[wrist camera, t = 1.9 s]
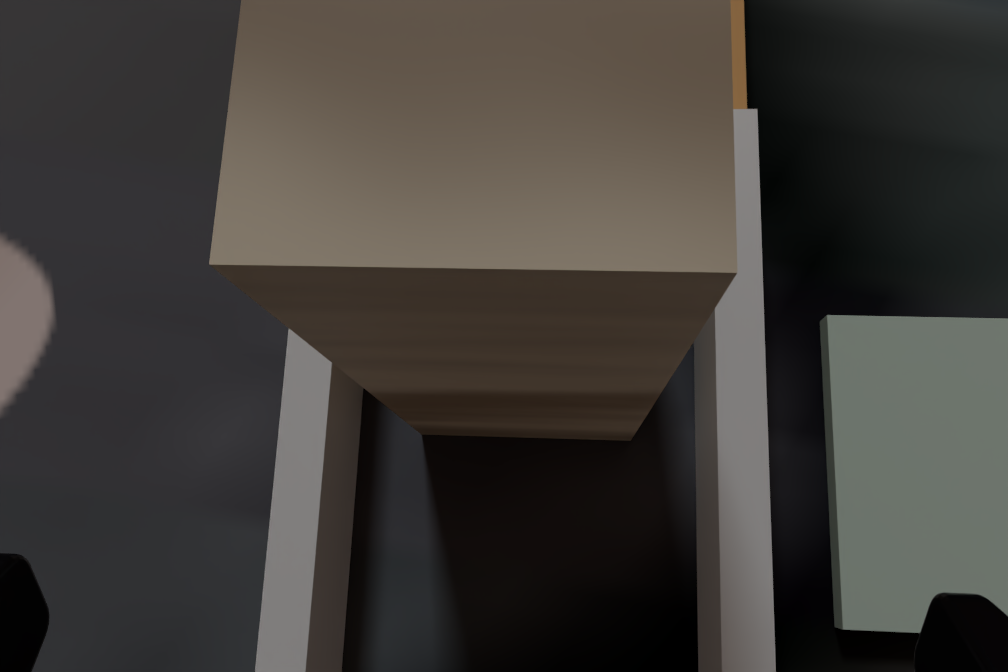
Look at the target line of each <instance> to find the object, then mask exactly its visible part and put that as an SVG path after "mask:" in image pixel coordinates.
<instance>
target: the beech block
mask: <svg viewBox="0 0 1008 672" xmlns="http://www.w3.org/2000/svg"><path fill="white" fill-rule="evenodd" d="M209 265H210V266H212V267H213V268H214V269H215V270H217V271H218V272H219V273H220V274H222V275H223V276H224V277H225V278H227V279H228V280H229V281H230V282H232V283H233V284H234V285H235V286H237V287H238V288H239V289H240V290H242V291H243V292H244V293H245V294H247V295H248V296H249V297H250V298H252V299H253V300H254V301H255V302H257V303H258V304H259V305H260V306H262V307H263V308H264V309H265V310H267V311H268V312H269V313H270V314H272V315H273V316H274V317H275V318H277V319H278V320H279V321H280V322H282V323H283V324H284V325H285V326H287V327H288V328H289V329H290V330H292V331H293V332H294V333H295V334H297V335H298V336H299V337H300V338H302V339H303V340H304V341H305V342H307V343H308V344H309V345H310V346H312V347H313V348H314V349H315V350H317V351H318V352H319V353H320V354H322V355H323V356H324V357H325V358H327V359H328V360H329V361H330V362H332V363H333V364H334V365H335V366H337V367H338V368H339V369H340V370H342V371H343V372H344V373H345V374H347V375H348V376H349V377H350V378H352V379H353V380H354V381H355V382H357V383H358V384H359V385H360V386H362V387H363V388H364V389H365V390H367V391H368V392H369V393H370V394H372V395H373V396H374V397H375V398H377V399H378V400H379V401H380V402H382V403H383V404H384V405H385V406H387V407H388V408H389V409H390V410H392V411H393V412H394V413H395V414H397V415H398V416H399V417H400V418H402V419H403V420H404V421H405V422H407V423H408V424H409V425H410V426H412V427H413V428H414V429H415V430H417V431H418V432H419V433H420V434H422V435H455V436H489V437H522V438H556V439H590V440H623V441H631V440H632V438H633V437H634V435H635V433H636V432H637V430H638V429H639V427H640V426H641V424H642V422H643V421H644V419H645V418H646V416H647V415H648V413H649V411H650V410H651V408H652V407H653V405H654V403H655V402H656V400H657V399H658V397H659V396H660V394H661V392H662V391H663V389H664V388H665V386H666V385H667V383H668V381H669V380H670V378H671V377H672V375H673V374H674V372H675V370H676V369H677V367H678V366H679V364H680V363H681V361H682V359H683V358H684V356H685V355H686V353H687V352H688V350H689V348H690V347H691V345H692V344H693V342H694V340H695V339H696V337H697V336H698V334H699V333H700V331H701V329H702V328H703V326H704V325H705V323H706V322H707V320H708V318H709V317H710V315H711V314H712V312H713V311H714V309H715V307H716V306H717V304H718V303H719V301H720V300H721V298H722V296H723V295H724V293H725V292H726V290H727V289H728V287H729V285H730V284H731V282H732V281H733V279H734V278H735V276H736V274H737V234H736V196H735V157H734V119H733V80H732V42H731V3H730V0H241V8H240V16H239V25H238V33H237V41H236V49H235V57H234V65H233V74H232V82H231V90H230V98H229V106H228V114H227V123H226V131H225V139H224V147H223V155H222V163H221V172H220V180H219V188H218V196H217V204H216V212H215V221H214V229H213V237H212V245H211V253H210V261H209Z"/></svg>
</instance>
